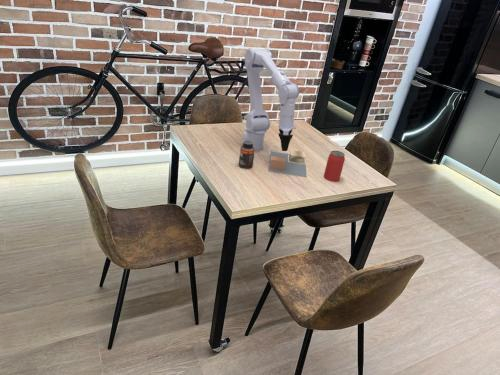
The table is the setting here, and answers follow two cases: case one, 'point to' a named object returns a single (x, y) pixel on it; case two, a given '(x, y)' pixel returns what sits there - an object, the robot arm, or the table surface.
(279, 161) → the terracotta block
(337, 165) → the beer can
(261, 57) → the robot arm
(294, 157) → the base block
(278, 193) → the table surface
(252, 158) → the supplement bottle
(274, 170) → the board
